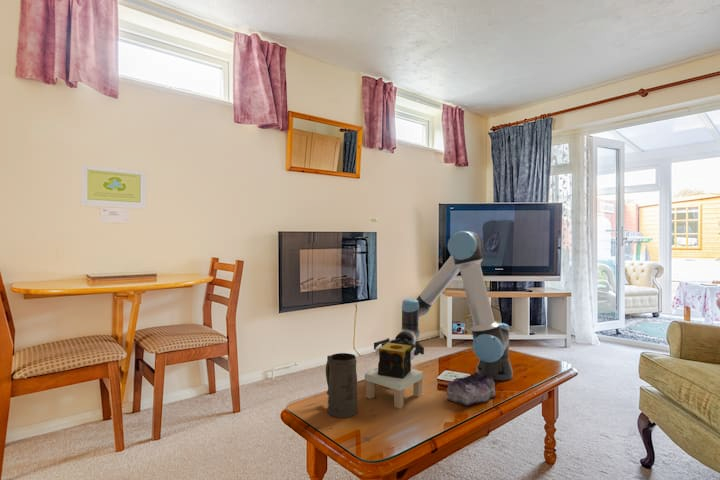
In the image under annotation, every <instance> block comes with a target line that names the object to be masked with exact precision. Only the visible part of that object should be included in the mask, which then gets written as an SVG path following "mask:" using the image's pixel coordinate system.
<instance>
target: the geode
mask: <svg viewBox="0 0 720 480" xmlns="http://www.w3.org/2000/svg"><path fill="white" fill-rule="evenodd" d="M495 387H496V383H495V380H493V377H492V375H491V376H490V375H489V374H488V376H482V375H480V374H479V375H478V374H475V373H473V374H472V373H471V374H470V375H467V376H464V377H459V378H458V377H456V378H454V379H453V381H450V382H449V383H448V385H447V387H446V388H447V389H446V399H447V401H451V402H454V403H458V404H461V405H463V406H471V405H473V404H481V403H488V402H489V401H490V399H492V398H493V399H494V397H495V398H496V391H495V390H496V388H495Z"/></svg>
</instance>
